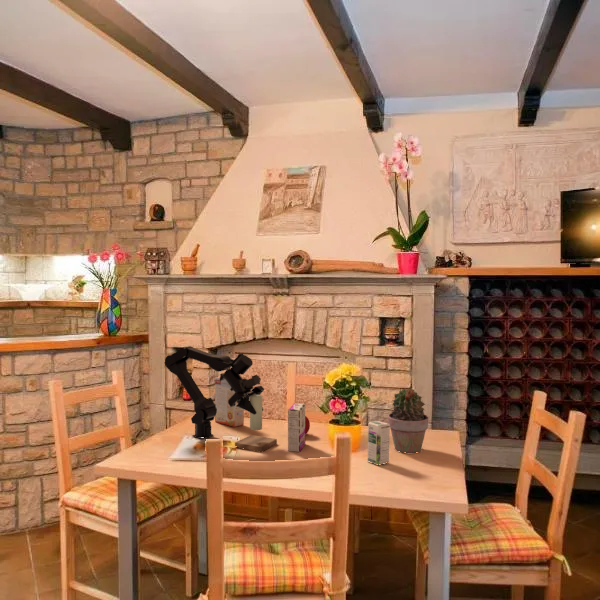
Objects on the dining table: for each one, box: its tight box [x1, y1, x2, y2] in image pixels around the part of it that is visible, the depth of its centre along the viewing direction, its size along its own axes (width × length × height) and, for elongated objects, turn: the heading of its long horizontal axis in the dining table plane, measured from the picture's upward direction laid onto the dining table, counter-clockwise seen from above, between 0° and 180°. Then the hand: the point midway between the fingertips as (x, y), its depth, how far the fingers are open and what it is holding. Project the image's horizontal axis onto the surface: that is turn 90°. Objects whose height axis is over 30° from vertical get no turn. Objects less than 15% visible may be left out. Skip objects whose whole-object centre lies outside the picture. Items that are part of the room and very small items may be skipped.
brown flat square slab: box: [234, 434, 278, 453], centre depth 219 cm, size 12×12×2 cm
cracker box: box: [214, 376, 245, 428], centre depth 252 cm, size 14×6×21 cm, turn 47°
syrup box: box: [367, 420, 391, 465], centre depth 200 cm, size 6×6×14 cm
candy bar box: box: [287, 402, 306, 453], centre depth 217 cm, size 11×5×16 cm, turn 168°
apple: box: [305, 415, 311, 436], centre depth 235 cm, size 9×9×10 cm
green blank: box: [249, 394, 263, 431], centre depth 218 cm, size 5×5×13 cm
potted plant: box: [387, 388, 432, 454], centre depth 216 cm, size 18×20×25 cm
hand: (259, 412), depth 218 cm, fingers closed on green blank, 5 cm apart
